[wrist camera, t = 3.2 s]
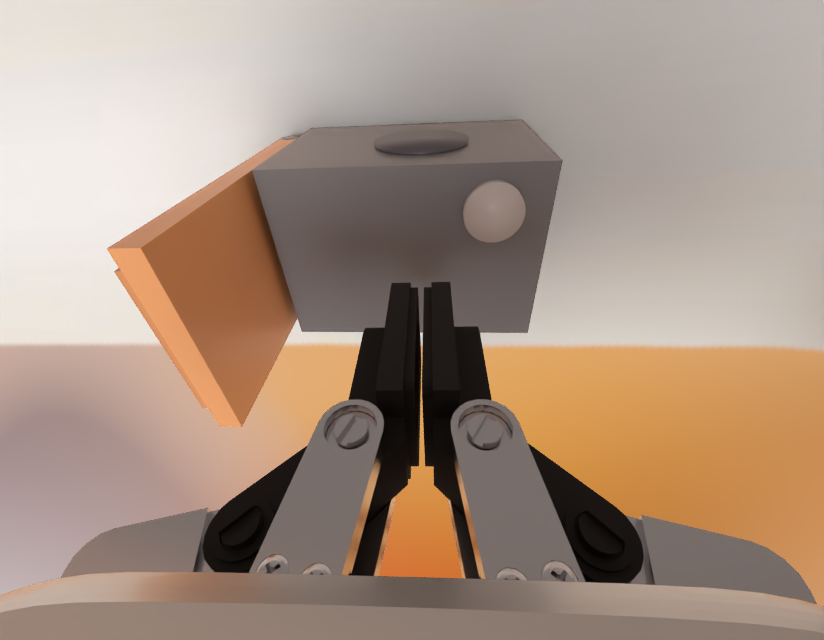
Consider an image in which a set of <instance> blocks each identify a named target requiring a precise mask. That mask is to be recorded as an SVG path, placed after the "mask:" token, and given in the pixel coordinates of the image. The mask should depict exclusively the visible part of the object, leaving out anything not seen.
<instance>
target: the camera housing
mask: <svg viewBox="0 0 824 640" xmlns="http://www.w3.org/2000/svg"><path fill="white" fill-rule="evenodd" d="M561 165H562V159H561V158H560V157H559V156H558V155H557V154H556V153H555V152H554V151H553V150H552V149H551V148H550V147H549V146H548V145H547V144H546V143H545V142H544V141H543V140H542V139H541V138H540V137H539V136H538V135H537V134H536V133H535V132H534V131H533V130H532V129H531V128H530V127H529V126H528V125H527V124H526V123H525V122H524V121H523V120H504V121H479V122H454V123H429V124H404V125H379V126H354V127H329V128H311V129H310V130H308V131H307V132H305V133H304V134H303V135H301V136H300V137H298V138H297V139H295V140H294V141H293V142H291V143H290V144H288V145H287V146H285V147H284V148H283V149H281V150H280V151H278V152H277V153H276V154H274V155H273V156H271V157H270V158H268V159H267V160H266V161H264V162H263V163H261V164H260V165H258V166H257V167H256V168H254V169H253V170H252V172H253V175H254V178H255V182H256V185H257V188H258V191H259V195H260V198H261V201H262V204H263V207H264V211H265V214H266V217H267V220H268V224H269V227H270V230H271V233H272V237H273V240H274V243H275V246H276V249H277V253H278V256H279V259H280V262H281V266H282V269H283V272H284V275H285V279H286V282H287V285H288V288H289V291H290V295H291V298H292V301H293V304H294V308H295V311H296V314H297V317H298V321H299V324H300V327H301V330H302V332H364V330H365V328H385V322H386V316H387V309H388V302H389V296H390V289H391V283H411V287H418V297H419V321H420V332H423V309H424V287H431V282H450V285H451V296H452V307H453V318H454V327H463V326H478V328H479V332H495V333H528V328H529V323H530V318H531V313H532V308H533V303H534V298H535V293H536V288H537V283H538V279H539V274H540V269H541V264H542V259H543V254H544V249H545V244H546V239H547V234H548V229H549V224H550V219H551V214H552V209H553V205H554V200H555V195H556V190H557V185H558V180H559V175H560V170H561Z"/></svg>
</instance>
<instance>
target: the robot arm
mask: <svg viewBox="0 0 824 640" xmlns="http://www.w3.org/2000/svg"><path fill="white" fill-rule="evenodd" d="M422 368H423V369H422V399H423V423H424V445H425V466H434V485H435V486H436V487H437V488H438V489H439V490H440V491H441V492H442V493H443V494H444V495H445V496H446V497H447V498H448V504H449V510H450V515H451V520H452V526H453V531H454V536H455V541H456V547H457V552H458V557H459V562H460V567H461V572H462V578H463V579H462V578H426V577H389V576H388V577H387V576H379V573H380V568H381V564H382V560H383V555H384V550H385V546H386V541H387V537H388V532H389V528H390V522H391V518H392V513H393V509H394V504H395V496H396V495H397V494H398V493H399V492H400V491H401V490H402V489H403V488H405V487H406V486H407V484H408V479H410V478H411V466H419V437H420V435H419V433H420V390H421V345H420V321H419V297H418V287H411V283H391V289H390V296H389V302H388V309H387V316H386V322H385V328H365V330H364V333H363V337H362V342H361V346H360V351H359V355H358V360H357V364H356V369H355V374H354V378H353V383H352V387H351V392H350V396H349V400H347V401H343V402H340V403H338V404H336V405H334V406H332V407H331V408H330V409H329V410H327V411H326V412H325V413H324V414H323V416H322V418H321V419H320V420H319V422H318V424H317V426H316V429H315V431H314V433H313V435H312V437H311V439H310V442H309V444H308V446H306V447H305V448H303V449H302V450H301V451H299V452H298V453H296V454H295V455H293V456H292V457H291V458H289V459H288V460H286V461H285V462H284V463H282V464H281V465H279V466H278V467H277V468H275V469H274V470H272V471H271V472H270V473H268V474H267V475H266V476H264V477H263V478H261V479H260V480H259V481H257V482H256V483H254V484H253V485H251V486H250V487H249V488H247V489H246V490H244V491H243V492H242V493H240V494H239V495H237V496H236V497H235V498H233V499H232V500H230V501H229V502H228V503H227V504H226V505H225V506H223V507H222V508H221V509H220V510H216V511H210V510H209V508H205V509H200V510H196V511H191V512H187V513H182V514H178V515H173V516H169V517H164V518H160V519H155V520H151V521H146V522H142V523H137V524H132V525H128V526H123V527H119V528H114V529H112V530H109V531H107V532H104V533H101V534H100V535H98V536H97V537H95V538H94V539H92V540H91V541H89V542H88V543H87V544H86V545H84V547H82V548H81V549H80V550H79V552H77V553H76V555H75V556H74V557H73V558H72V560H71V561H70V563H69V564H68V566H67V568H66V569H65V571H64V572H63V575H62V577H61V578H58V579H54V580H49V581H45V582H41V583H36V584H33V585H30V586H27V587H23V588H20V589H17V590H14V591H11V592H8V593H5V594H2V595H0V640H824V606H820V605H817V603H816V601H815V599H814V597H813V595H812V593H811V591H810V589H809V588H808V586H807V585H806V583H805V582H804V580H803V579H802V577H801V576H800V575H799V573H798V572H797V571H796V570H795V569H794V568H793V567H792V566H791V565H790V564H789V563H787V561H786V560H785V559H783V558H782V557H780V556H779V555H777V554H776V553H774V552H773V551H771V550H770V549H768V548H767V547H764V546H761V545H759V544H756V543H754V542H751V541H747V540H743V539H739V538H735V537H731V536H727V535H723V534H718V533H714V532H710V531H706V530H702V529H698V528H693V527H689V526H685V525H681V524H677V523H673V522H669V521H664V520H660V519H656V518H652V517H648V516H644V515H641V516H640V517H639V518H638V519H637V518H633V517H628V516H625V515H624V514H623V513H622V512H621V511H620V510H618V509H617V508H616V507H615V506H614V505H612V504H611V503H609V502H608V501H607V500H605V499H604V498H603V497H601V496H600V495H598V494H597V493H596V492H594V491H593V490H591V489H590V488H589V487H587V486H586V485H584V484H583V483H582V482H580V481H579V480H578V479H576V478H575V477H573V476H572V475H571V474H569V473H568V472H567V471H565V470H564V469H562V468H561V467H560V466H558V465H557V464H556V463H554V462H553V461H551V460H550V459H549V458H547V457H546V456H545V455H543V454H542V453H540V452H539V451H538V450H536V449H535V448H534V447H532V446H531V445H529V444H528V443H527V440H526V438H525V436H524V433H523V431H522V429H521V426H520V424H519V422H518V420H517V419H516V417H515V415H514V414H513V413H512V412H511V411H510V410H509V409H508V408H507V407H505V406H503V405H501V404H499V403H498V402H495V401H492V400H491V394H490V389H489V383H488V377H487V371H486V366H485V360H484V354H483V349H482V343H481V337H480V332H479V328H478V326H463V327H454V318H453V307H452V296H451V285H450V282H431V287H424V309H423V366H422Z"/></svg>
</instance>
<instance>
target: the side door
mask: <svg viewBox="0 0 824 640" xmlns="http://www.w3.org/2000/svg"><path fill="white" fill-rule="evenodd" d="M297 138H298V136H288V137H283V138H281V139H279V140H278V141H276V142H275V143H273V144H272V145H270V146H268V147H267V148H265V149H264V150H262V151H260V152H259V153H257V154H256V155H254V156H253V157H251V158H249V159H248V160H246V161H245V162H243V163H241V164H240V165H238V166H237V167H235V168H234V169H232V170H230V171H229V172H227V173H226V174H224V175H223V176H221V177H219V178H218V179H216V180H215V181H213V182H211V183H210V184H208V185H207V186H205V187H204V188H202V189H200V190H199V191H197V192H196V193H194V194H193V195H191V196H189V197H188V198H186V199H185V200H183V201H181V202H180V203H178V204H177V205H175V206H174V207H172V208H170V209H169V210H167V211H166V212H164V213H162V214H161V215H159V216H158V217H156V218H155V219H153V220H151V221H150V222H148V223H147V224H145V225H144V226H142V227H140V228H139V229H137V230H136V231H134V232H132V233H131V234H129V235H128V236H126V237H125V238H123V239H121V240H120V241H118V242H117V243H115V244H113V245H112V246H110V247H109V248H107V250H108V251H109V253H110V254H111V256H112V258H113V259H114V261H115V262H116V264H117V265H118V267H119V268H118V269H117V270H116V271H114V272H115V273H116V275H117V277H118V278H119V280H120V281H121V283H122V284H123V286H124V287H125V289H126V290H127V292H128V294H129V295H130V297H131V298H132V300H133V301H134V303H135V304H136V306H137V307H138V309H139V311H140V312H141V314H142V315H143V317H144V318H145V320H146V321H147V323H148V324H149V326H150V328H151V329H152V331H153V332H154V334H155V335H156V337H157V338H158V340H159V341H160V343H161V345H162V346H163V348H164V349H165V351H166V352H167V354H168V355H169V357H170V358H171V360H172V361H173V363H174V365H175V366H176V368H177V369H178V371H179V372H180V374H181V375H182V377H183V379H184V380H185V382H186V383H187V385H188V386H189V388H190V389H191V391H192V392H193V394H194V395H195V397H196V398H197V400H198V401H199V403H200V405H201V406H202V408H208V409H209V411H210V412H211V414H212V416H213V417H214V419H215V420H216V422H217V423H218V425H219V426H232V427H242V426H243V424H244V422H245V420H246V418H247V416H248V414H249V412H250V410H251V408H252V406H253V404H254V402H255V400H256V398H257V396H258V394H259V392H260V390H261V388H262V386H263V384H264V383H265V380H266V379H267V377H268V375H269V373H270V371H271V369H272V367H273V365H274V363H275V361H276V359H277V357H278V355H279V353H280V351H281V349H282V347H283V345H284V343H285V341H286V339H287V337H288V335H289V333H290V332H291V330H292V328H293V326H294V324H295V322H296V320H297V318H298V317H297V314H296V311H295V308H294V304H293V301H292V298H291V295H290V291H289V288H288V285H287V282H286V279H285V275H284V272H283V269H282V266H281V262H280V259H279V256H278V253H277V249H276V246H275V243H274V240H273V237H272V233H271V230H270V227H269V224H268V220H267V217H266V214H265V211H264V207H263V204H262V201H261V198H260V195H259V191H258V188H257V185H256V182H255V178H254V175H253V172H252V170H253V169H254V168H256V167H257V166H258V165H260V164H261V163H263V162H264V161H266V160H267V159H268V158H270V157H271V156H273V155H274V154H276V153H277V152H278V151H280V150H281V149H283V148H284V147H285V146H287V145H288V144H290V143H291V142H293V141H294V140H295V139H297Z"/></svg>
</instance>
